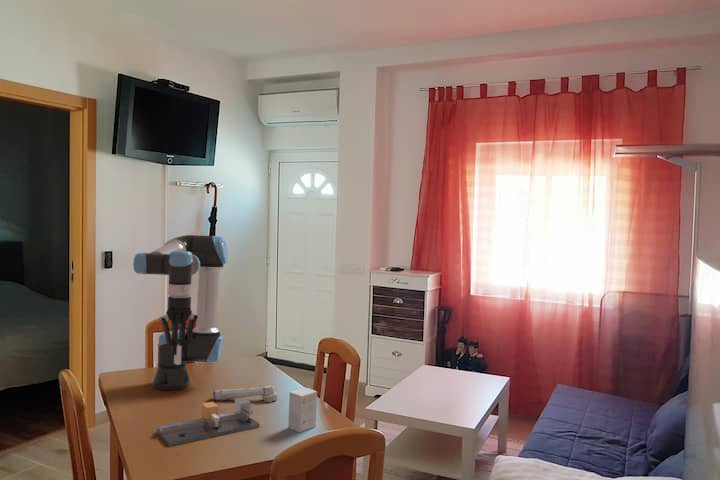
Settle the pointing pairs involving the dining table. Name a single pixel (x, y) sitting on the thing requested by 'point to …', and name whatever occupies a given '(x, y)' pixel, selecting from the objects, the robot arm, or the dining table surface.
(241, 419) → the bolt plate
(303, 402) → the small box
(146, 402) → the dining table surface
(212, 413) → the block
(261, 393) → the white elongated piece
